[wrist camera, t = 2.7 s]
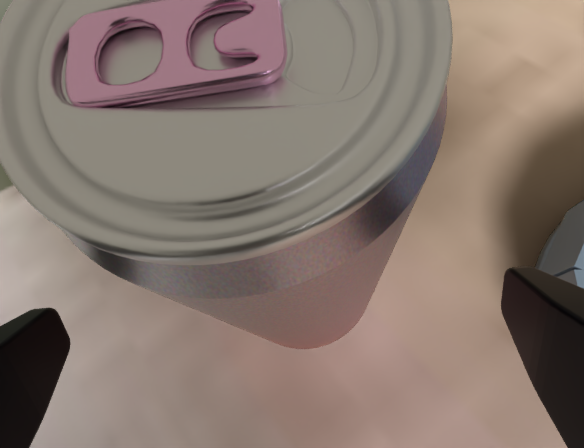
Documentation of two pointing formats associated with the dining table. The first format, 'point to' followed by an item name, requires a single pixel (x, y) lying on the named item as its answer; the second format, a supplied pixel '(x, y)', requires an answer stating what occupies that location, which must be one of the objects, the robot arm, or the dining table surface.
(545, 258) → the bowl
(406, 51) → the beverage can
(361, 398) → the dining table surface
